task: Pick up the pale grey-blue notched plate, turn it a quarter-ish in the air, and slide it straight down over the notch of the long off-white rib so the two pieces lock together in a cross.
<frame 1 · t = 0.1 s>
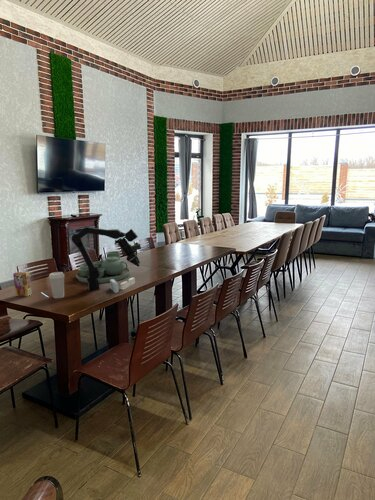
hand: (139, 264, 244), 15 cm above the table, tool tilted 30°, fingers open, 9 cm apart
coffee cup: (58, 297, 231), on the table
candy box: (24, 296, 236), on the table
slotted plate: (114, 290, 240), on the table
slotted rib: (128, 286, 248), on the table
tea set: (103, 277, 278), on the table
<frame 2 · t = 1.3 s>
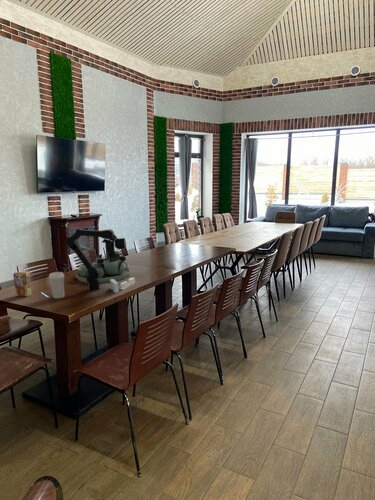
hand: (111, 272, 242), 11 cm above the table, tool pointing down, fingers open, 9 cm apart
nothing on the table moved.
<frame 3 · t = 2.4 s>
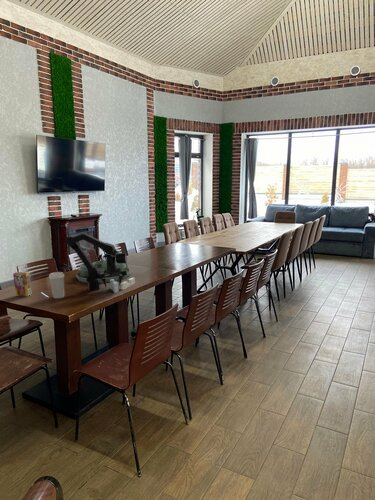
hand: (112, 286, 244), 1 cm above the table, tool pointing down, fingers open, 9 cm apart
nothing on the table moved.
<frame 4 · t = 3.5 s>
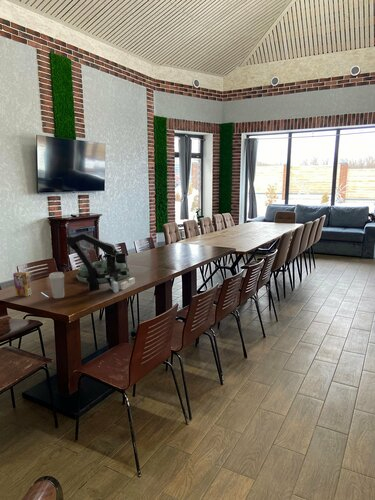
hand: (112, 286, 244), 1 cm above the table, tool pointing down, fingers closed on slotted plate, 2 cm apart
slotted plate: (114, 290, 240), on the table, touching gripper
everything else where it was.
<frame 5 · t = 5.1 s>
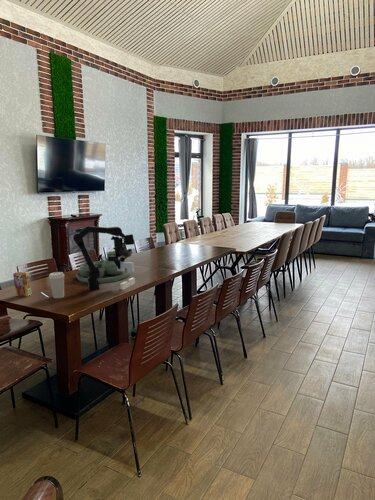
hand: (120, 268, 247), 12 cm above the table, tool pointing down, fingers closed on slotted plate, 2 cm apart
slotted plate: (125, 271, 245), point 11 cm above the table, touching gripper
everything else where it was.
when the fingers open (3 cm above the table, at t = 6.7 s): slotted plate drops 1 cm, on the table.
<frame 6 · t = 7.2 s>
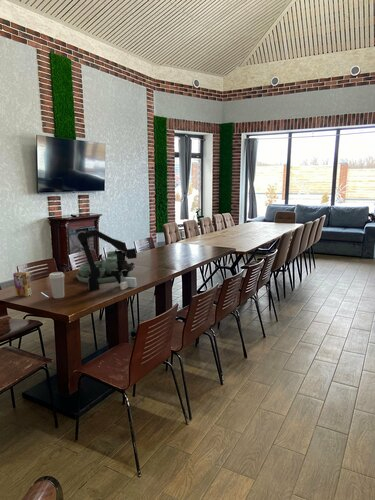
hand: (122, 282, 249), 3 cm above the table, tool pointing down, fingers open, 8 cm apart
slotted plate: (128, 286, 248), on the table
everything else where it was.
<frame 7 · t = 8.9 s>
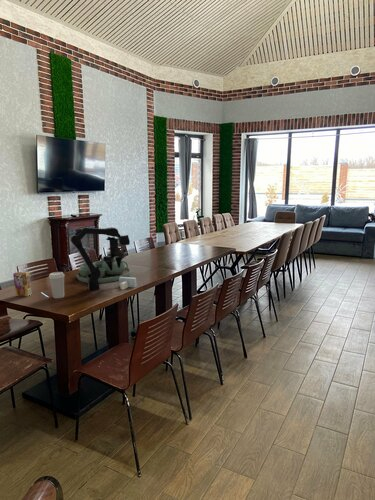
hand: (115, 269, 249), 12 cm above the table, tool pointing down, fingers open, 9 cm apart
nothing on the table moved.
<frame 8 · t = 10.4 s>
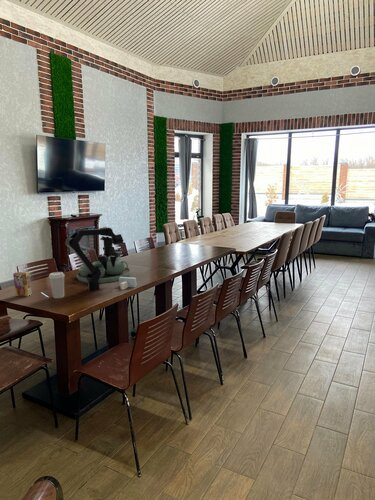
hand: (109, 268, 250), 12 cm above the table, tool pointing down, fingers open, 9 cm apart
nothing on the table moved.
at the end: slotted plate 0.1 cm off-centre on the slotted rib, point 0.0 cm above the slotted rib's base; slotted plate tilted 0°; the gripper is holding nothing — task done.
